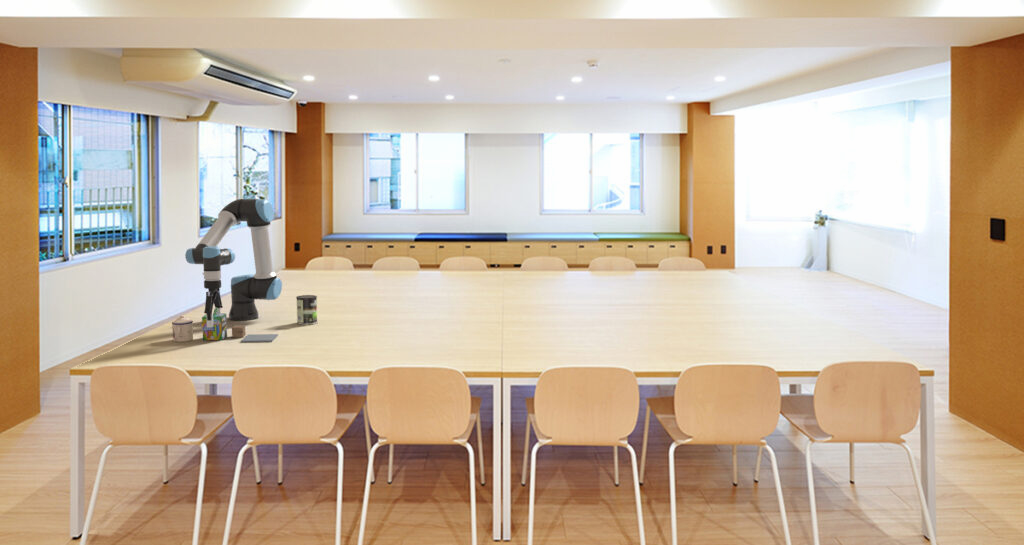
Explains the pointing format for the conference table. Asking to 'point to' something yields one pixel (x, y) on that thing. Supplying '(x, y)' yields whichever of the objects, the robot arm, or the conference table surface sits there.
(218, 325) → the chalk box
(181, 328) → the teacup with lid
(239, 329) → the walnut block
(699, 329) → the conference table surface
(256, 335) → the slate mat
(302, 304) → the coffee can
